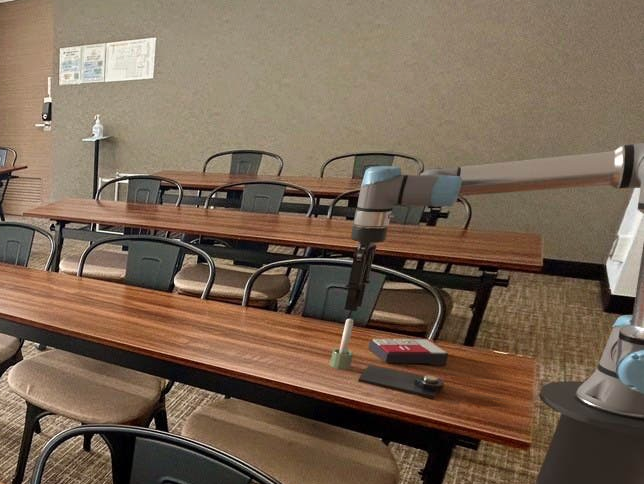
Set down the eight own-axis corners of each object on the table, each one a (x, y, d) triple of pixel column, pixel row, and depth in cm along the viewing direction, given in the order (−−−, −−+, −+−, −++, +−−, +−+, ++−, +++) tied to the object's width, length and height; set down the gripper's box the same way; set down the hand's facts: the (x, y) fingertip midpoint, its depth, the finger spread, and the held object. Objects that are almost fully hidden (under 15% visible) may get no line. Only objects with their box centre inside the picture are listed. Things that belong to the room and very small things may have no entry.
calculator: (370, 337, 178) (428, 337, 174) (367, 350, 179) (425, 350, 175) (387, 351, 168) (450, 351, 164) (385, 364, 169) (446, 365, 165)
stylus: (344, 365, 169) (354, 318, 164) (343, 367, 168) (353, 320, 163) (337, 363, 170) (347, 317, 165) (335, 365, 169) (345, 318, 164)
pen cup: (351, 366, 169) (355, 351, 167) (347, 372, 166) (350, 356, 164) (332, 362, 172) (335, 347, 171) (327, 367, 169) (331, 352, 168)
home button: (437, 381, 153) (438, 377, 152) (435, 385, 151) (436, 380, 151) (423, 378, 155) (424, 374, 154) (421, 382, 153) (422, 377, 153)
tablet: (445, 384, 155) (447, 376, 155) (437, 400, 148) (440, 391, 147) (368, 368, 167) (370, 360, 166) (357, 382, 160) (359, 374, 159)
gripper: (380, 233, 146) (361, 318, 155) (395, 221, 157) (376, 302, 165) (345, 230, 152) (328, 313, 160) (361, 219, 162) (344, 297, 171)
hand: (352, 307), depth 163 cm, fingers open, 4 cm apart
